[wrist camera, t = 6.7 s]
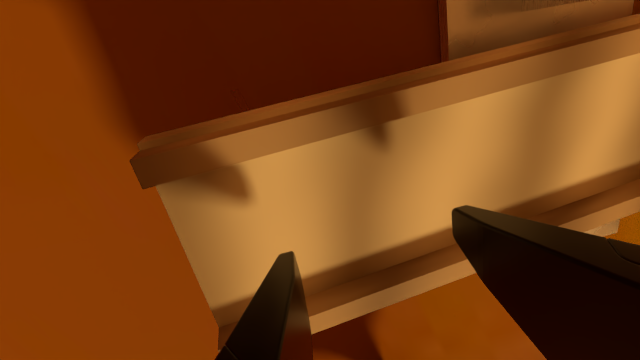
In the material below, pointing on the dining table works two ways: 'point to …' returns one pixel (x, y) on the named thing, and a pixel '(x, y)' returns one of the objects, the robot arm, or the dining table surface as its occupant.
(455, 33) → the stand
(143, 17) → the dining table surface
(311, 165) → the beam
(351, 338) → the dining table surface
